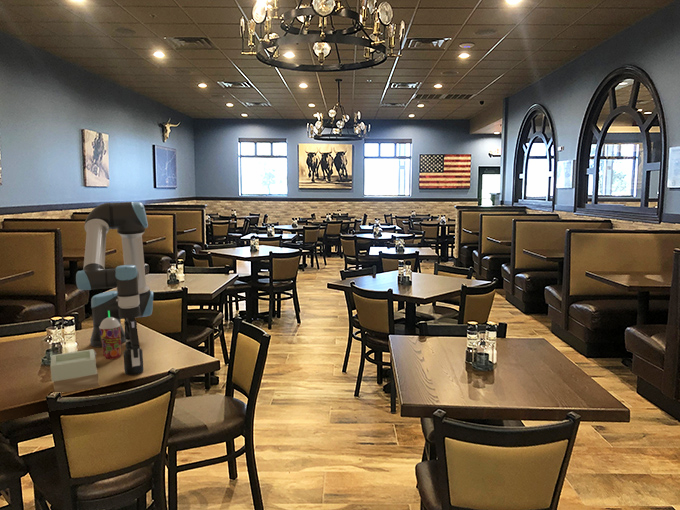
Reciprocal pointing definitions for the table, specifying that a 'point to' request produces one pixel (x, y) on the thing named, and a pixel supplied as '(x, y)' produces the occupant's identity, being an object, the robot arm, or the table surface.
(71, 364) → the tower top block
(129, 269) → the robot arm
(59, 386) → the tower base block
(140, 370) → the supplement bottle
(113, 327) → the smoothie
